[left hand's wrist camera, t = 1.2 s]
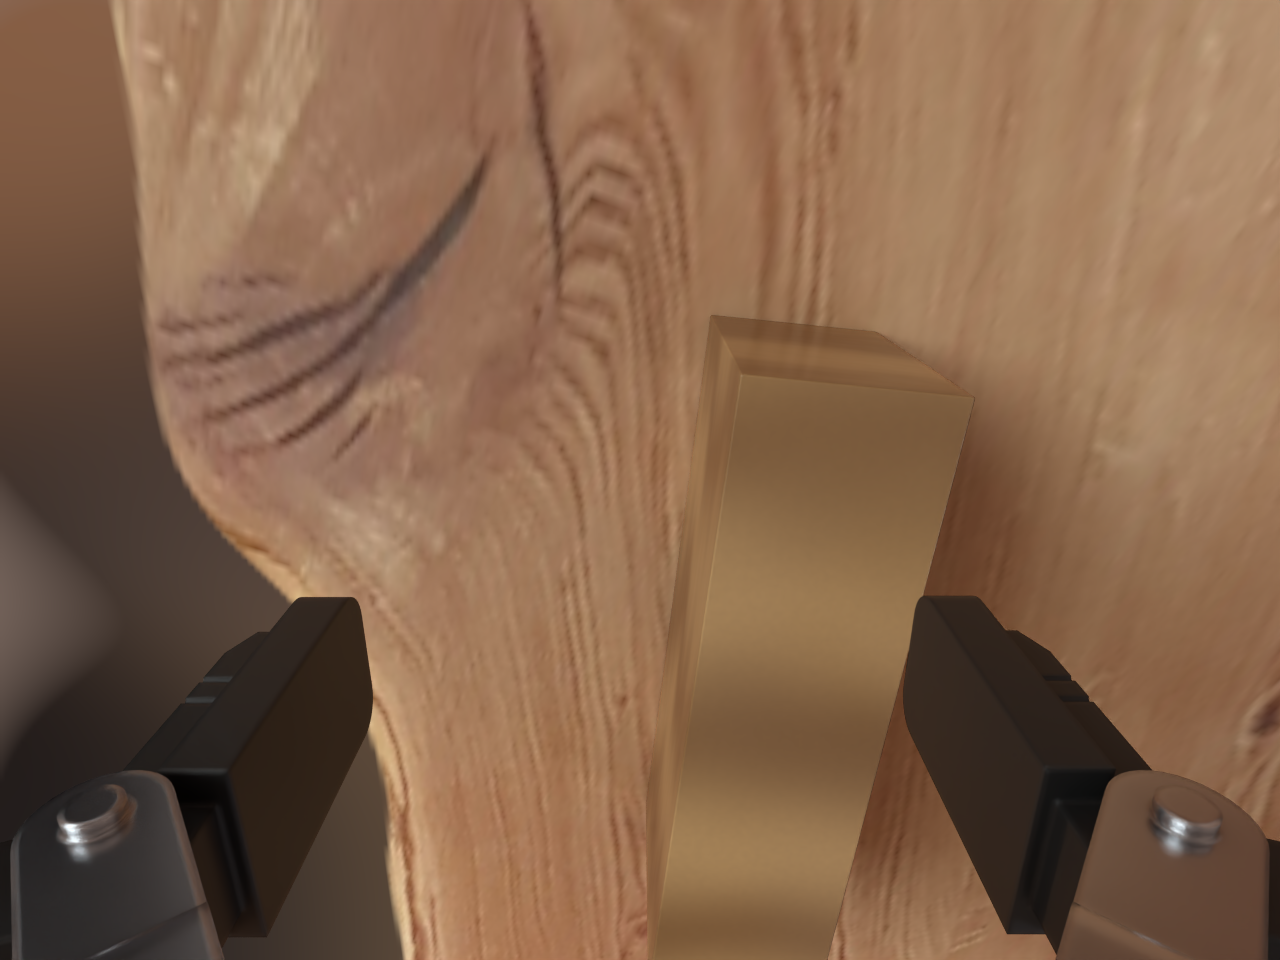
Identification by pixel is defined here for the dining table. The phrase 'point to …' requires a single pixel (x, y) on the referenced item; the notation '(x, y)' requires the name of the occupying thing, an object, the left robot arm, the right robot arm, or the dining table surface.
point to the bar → (789, 629)
